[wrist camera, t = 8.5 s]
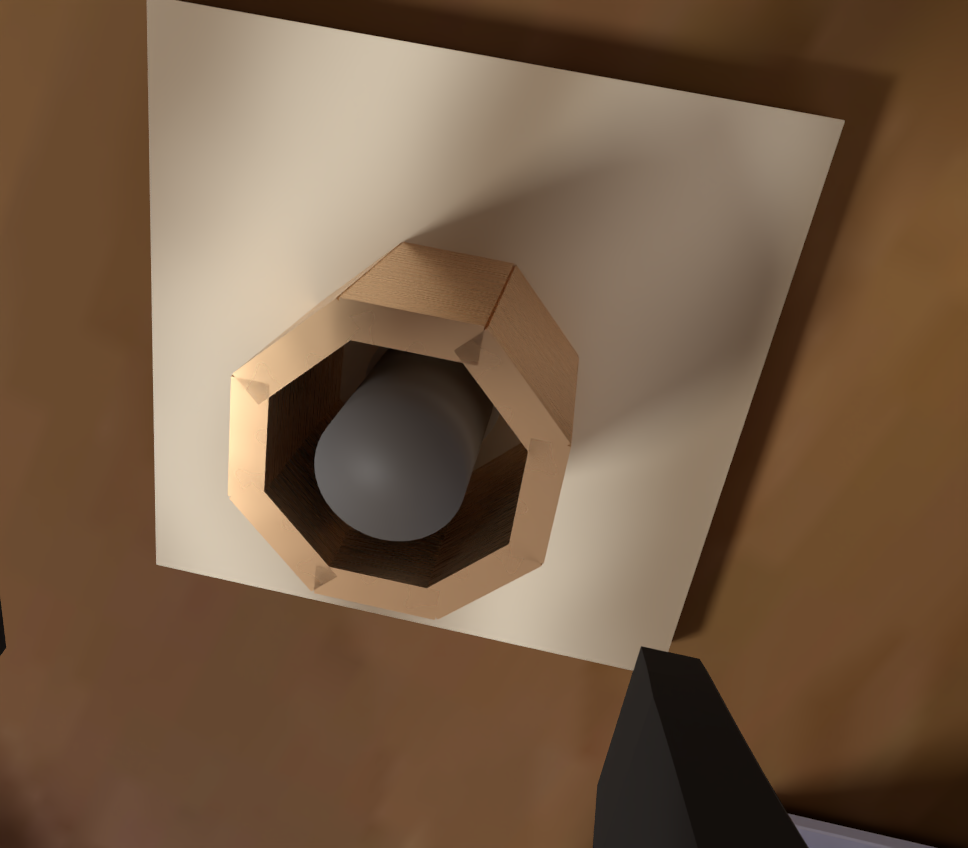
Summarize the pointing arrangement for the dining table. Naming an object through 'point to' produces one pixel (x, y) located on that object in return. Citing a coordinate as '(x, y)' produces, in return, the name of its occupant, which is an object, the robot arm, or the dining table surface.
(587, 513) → the shaft base
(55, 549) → the dining table surface
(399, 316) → the wooden ring
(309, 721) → the dining table surface
